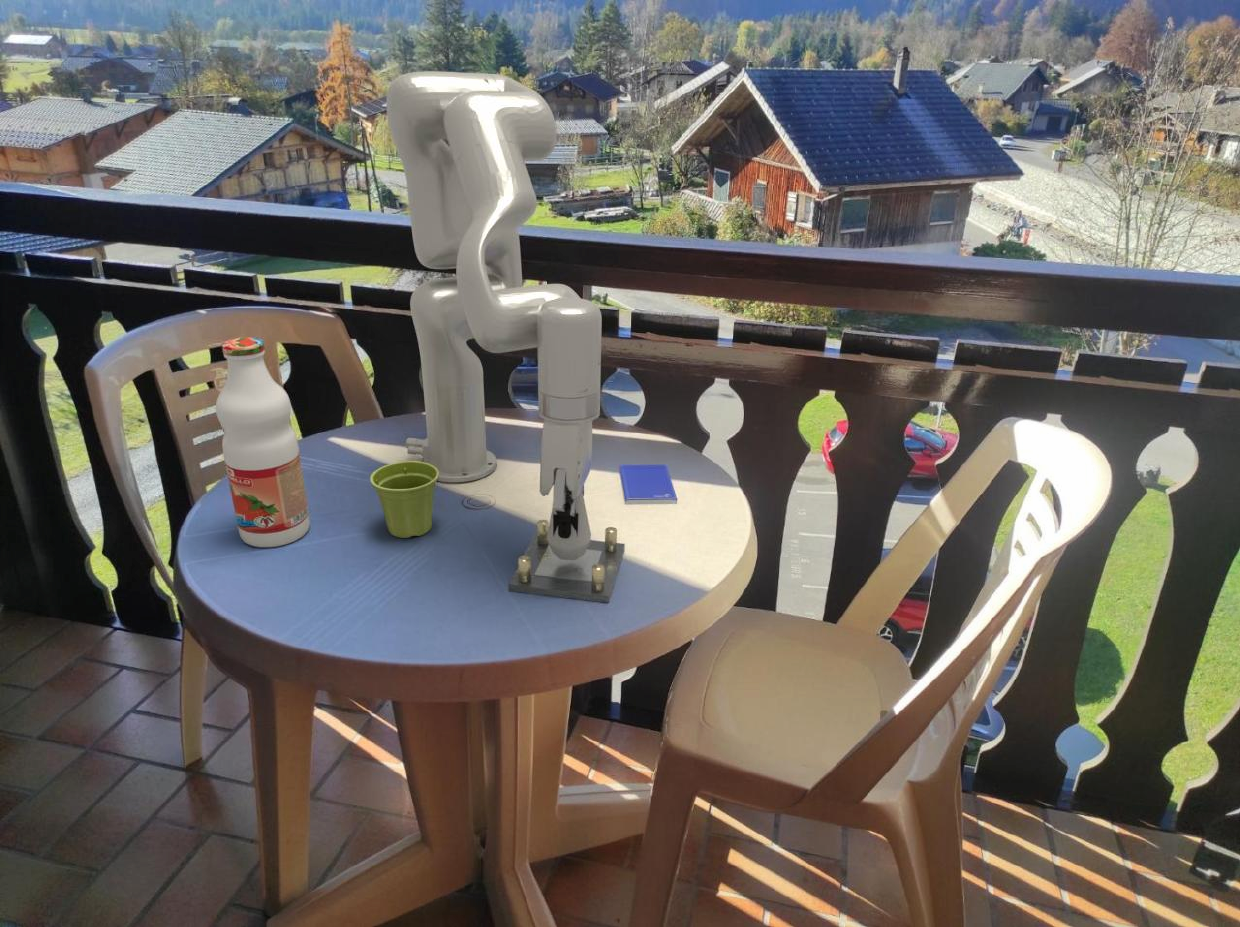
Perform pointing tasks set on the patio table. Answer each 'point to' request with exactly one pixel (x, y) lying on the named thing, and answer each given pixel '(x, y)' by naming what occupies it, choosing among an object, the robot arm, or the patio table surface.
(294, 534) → the fruit juice
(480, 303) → the robot arm
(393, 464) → the plant pot
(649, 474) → the hard drive
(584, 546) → the salt shaker
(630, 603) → the patio table surface
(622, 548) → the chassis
